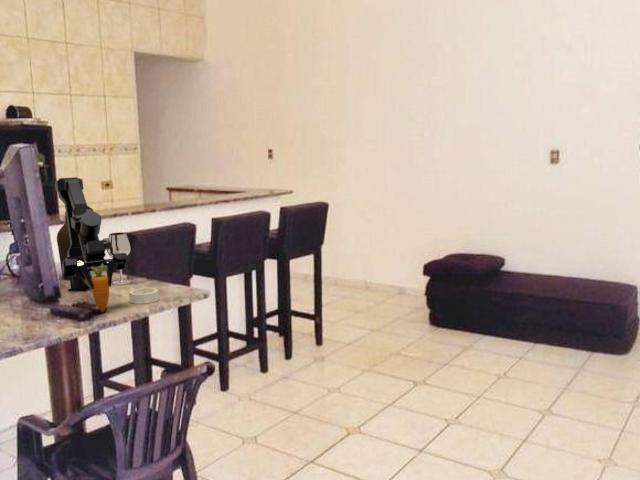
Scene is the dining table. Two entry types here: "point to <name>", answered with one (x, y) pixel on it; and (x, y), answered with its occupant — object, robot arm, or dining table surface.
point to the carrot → (100, 288)
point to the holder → (144, 295)
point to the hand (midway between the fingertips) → (101, 287)
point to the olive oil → (63, 244)
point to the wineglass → (119, 250)
